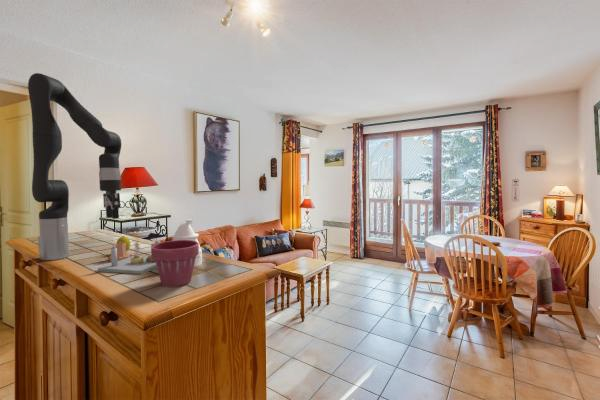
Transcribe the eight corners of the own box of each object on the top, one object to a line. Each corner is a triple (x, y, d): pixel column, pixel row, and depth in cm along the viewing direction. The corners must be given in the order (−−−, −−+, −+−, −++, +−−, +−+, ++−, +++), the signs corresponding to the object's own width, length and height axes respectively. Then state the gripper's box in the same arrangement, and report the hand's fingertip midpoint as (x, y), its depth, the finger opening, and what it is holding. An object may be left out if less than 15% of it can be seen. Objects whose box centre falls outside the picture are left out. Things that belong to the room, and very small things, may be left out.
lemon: (126, 254, 133) (125, 237, 133) (113, 254, 134) (113, 237, 133) (133, 251, 139) (132, 234, 138) (121, 251, 139) (120, 234, 138)
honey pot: (207, 260, 125) (206, 217, 124) (193, 269, 113) (192, 222, 111) (178, 259, 127) (177, 217, 125) (161, 268, 114) (160, 221, 113)
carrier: (98, 271, 110) (97, 247, 109) (134, 258, 128) (133, 237, 127) (142, 274, 106) (141, 249, 106) (173, 260, 124) (173, 239, 124)
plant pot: (148, 292, 90) (146, 250, 89) (156, 277, 103) (155, 240, 102) (198, 287, 94) (197, 247, 93) (200, 274, 107) (199, 238, 106)
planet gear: (103, 261, 123) (102, 245, 122) (118, 256, 131) (118, 241, 131) (120, 262, 121) (120, 246, 121) (135, 257, 130) (135, 242, 129)
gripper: (125, 178, 122) (128, 218, 123) (115, 179, 132) (117, 216, 132) (104, 178, 116) (107, 219, 117) (95, 180, 126) (97, 218, 127)
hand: (112, 218), depth 125 cm, fingers open, 8 cm apart
